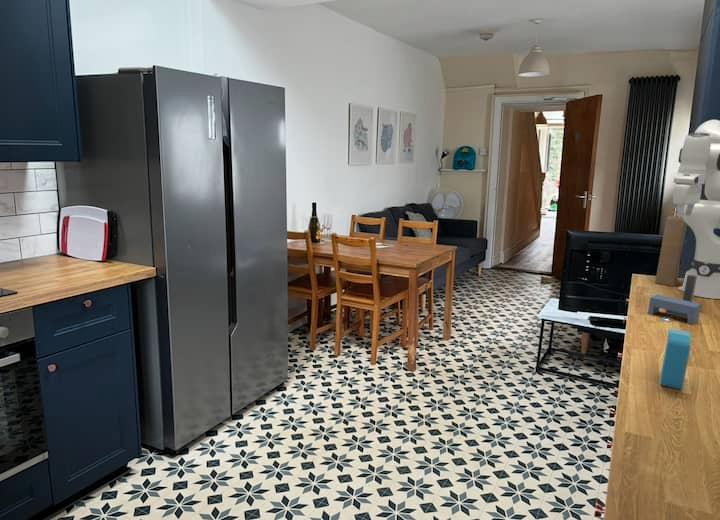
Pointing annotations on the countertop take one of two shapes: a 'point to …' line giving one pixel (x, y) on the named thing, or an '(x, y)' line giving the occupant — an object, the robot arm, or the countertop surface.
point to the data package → (676, 359)
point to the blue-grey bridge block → (675, 307)
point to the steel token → (666, 319)
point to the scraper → (687, 293)
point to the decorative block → (671, 251)
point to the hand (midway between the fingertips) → (683, 216)
